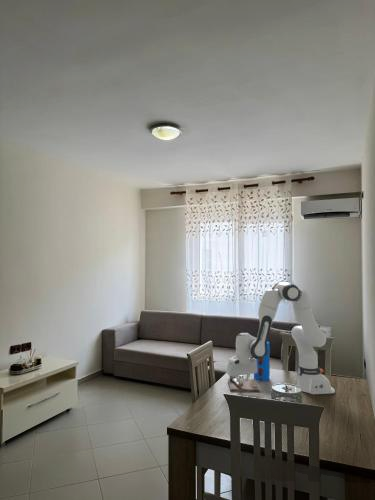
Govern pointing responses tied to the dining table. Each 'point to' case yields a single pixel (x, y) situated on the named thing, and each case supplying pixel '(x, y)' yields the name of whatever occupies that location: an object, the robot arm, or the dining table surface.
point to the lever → (236, 381)
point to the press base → (244, 386)
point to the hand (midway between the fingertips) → (242, 381)
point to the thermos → (263, 367)
